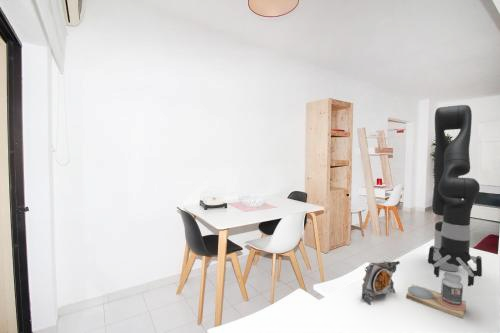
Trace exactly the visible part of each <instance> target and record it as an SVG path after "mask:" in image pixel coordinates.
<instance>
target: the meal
mask: <svg viewBox="0 0 500 333" xmlns="http://www.w3.org/2000/svg"><path fill="white" fill-rule="evenodd" d="M400 263H401V262H400V261H399V260H397V261H383V260H382V261H376V262H371V263H369V264H368V266H366V267H365V268H364V271H365V275H364V278H362V280H363V283H362V284H361V286H362V288H361V290H362V291H361V292H362V293H361V299H362V301H363V302H365V303H366V304H368V305H370V306H371V300H372V301H373V300H374V298H375V297H376V296H377V295H382V294H384V295H386V294H387V293H394V294H395V293H396V289H395V287H394V283H395V282H394V280H393V274H394V273H396V271H397V266H398V265H400Z"/></svg>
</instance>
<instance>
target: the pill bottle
mask: <svg viewBox="0 0 500 333" xmlns="http://www.w3.org/2000/svg"><path fill="white" fill-rule="evenodd" d="M443 277H444V278H442V280H441V287H440V288H441V289H440V293H441V300H442V301H443V302H444V303H445V304H447V305H450V306H453V307H460V306H461V305H462V300H463V293H464V292H463V291H464V290H463V289H464V288H463V287H464V285H463V283H462V282H461V281H462V276H461V275H460V274H458V273H455V272H453V271H445V272H444V273H443Z"/></svg>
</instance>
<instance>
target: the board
mask: <svg viewBox="0 0 500 333" xmlns="http://www.w3.org/2000/svg"><path fill="white" fill-rule="evenodd" d="M411 286H417V287H422V288H424V289H427V290H429V291H430V292H432V293H433V295H434V298H433V299H421V298H418V297H415V296H413V295H412V294H410V293H409V292H408V291H407V293H406V296H405V298H406V299H408V300H411V301H414V302H416V303H419V304H422V305H425V306H427V307H431V308H433V309H436V310H439V311H441V312H444V313H447V314H450V315H452V316H454V317H458V318H461V319H464V315H465V310H464V311H456V310H452V309H449V308H447V307H444V306H443V305H441V304H440V303H439V302H438V301H437V297H439V296H441V292H438V291H435V290H432V289H430V288H426V287H423V286H419V285H416V284H414V283H412V285H411ZM462 302H463V303H464V304H465V305H466V302H467V301H466V300H463V299H462ZM466 306H467V305H466Z"/></svg>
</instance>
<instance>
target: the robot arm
mask: <svg viewBox="0 0 500 333" xmlns="http://www.w3.org/2000/svg"><path fill="white" fill-rule="evenodd" d="M472 117H473V115H472V108H471V107H470V106H469V105H468V104H460V105H459V104H458V105H450V106H442V107H437V109H436V110H435V114H434V134H435V136H434V138H435V144H434V145H435V148H434V162H433V166H434V167H433V170H434V171H433V176H434V178H433V180H434V181H433V193H432V204H431V206H432V207H431V209H432V212H433V214H434V215H436V216H442V221H438V222H436V223H435V225H434V243H433V245H431V246H430V247H429V249H428V258H427V263H428V264H431V265H432V266H433V274H434V276H435V277H436V278H439V277H440V272H441V270H442V271H445V272H458V271H459V269H460V268H459V267H462V269H464V270H465V271H466V272H467V274H468V275H467V276H468V277H467V287H471V286H474V282H475V277H482V276H483V270H482V269H483V265H482V264H483V263H482V262H483V260H482V256H480V255H477V256H475V255H471V254H470V246H471V244H470V243H471V213H472V209H473V206H474V204H475V202H476V199H477V197H478V195H479V193H480V189H481V188H480V183H479V181H478V180H476V179H475V178H471V177H461V176H465V175H467V174H469V173H470V172H471V160H470V159H471V158H470V142H471V134H472V122H473V121H472V119H473V118H472ZM449 130H459V132H458V134H457V135H456V136H455V138H454V139H453V140H452V141H451V142H450V140H449V139H448V137H447V135H446V132H445V131H449ZM470 260H471V261H472V262H473V263H474V264H475V266H476V268H475V269H476V270H473V268H472V267H471V265H470V264H469V262H470Z"/></svg>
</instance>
